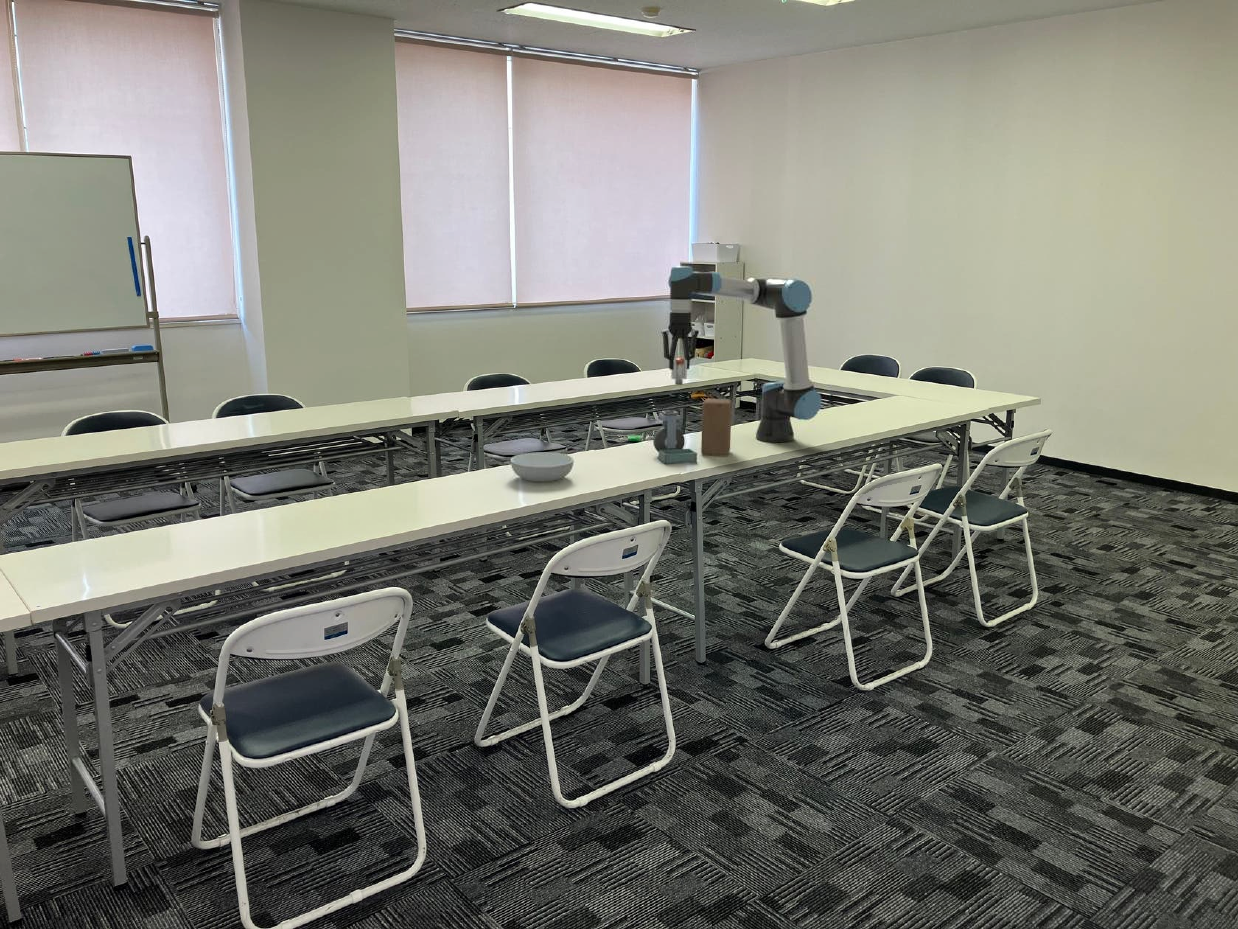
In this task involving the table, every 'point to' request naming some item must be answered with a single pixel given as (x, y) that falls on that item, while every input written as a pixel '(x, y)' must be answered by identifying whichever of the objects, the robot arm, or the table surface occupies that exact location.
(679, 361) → the stop pin
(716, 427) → the wooden block
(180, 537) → the table surface
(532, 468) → the serving bowl
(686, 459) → the tray
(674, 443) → the wheel stand
